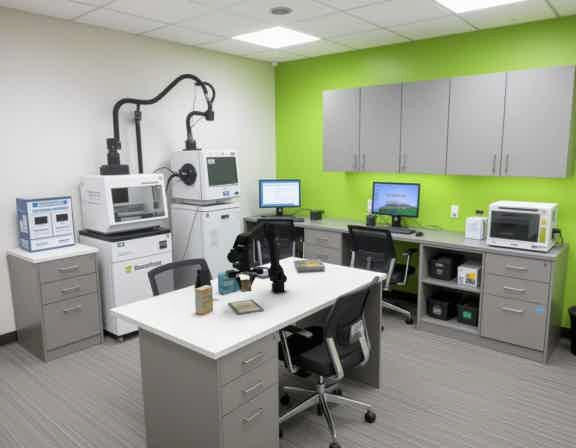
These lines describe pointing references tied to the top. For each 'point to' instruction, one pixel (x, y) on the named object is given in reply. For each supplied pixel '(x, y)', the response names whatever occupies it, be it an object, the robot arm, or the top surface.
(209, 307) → the supplement box
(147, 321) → the top surface
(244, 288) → the walnut cube
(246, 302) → the slate pad
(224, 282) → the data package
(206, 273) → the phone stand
